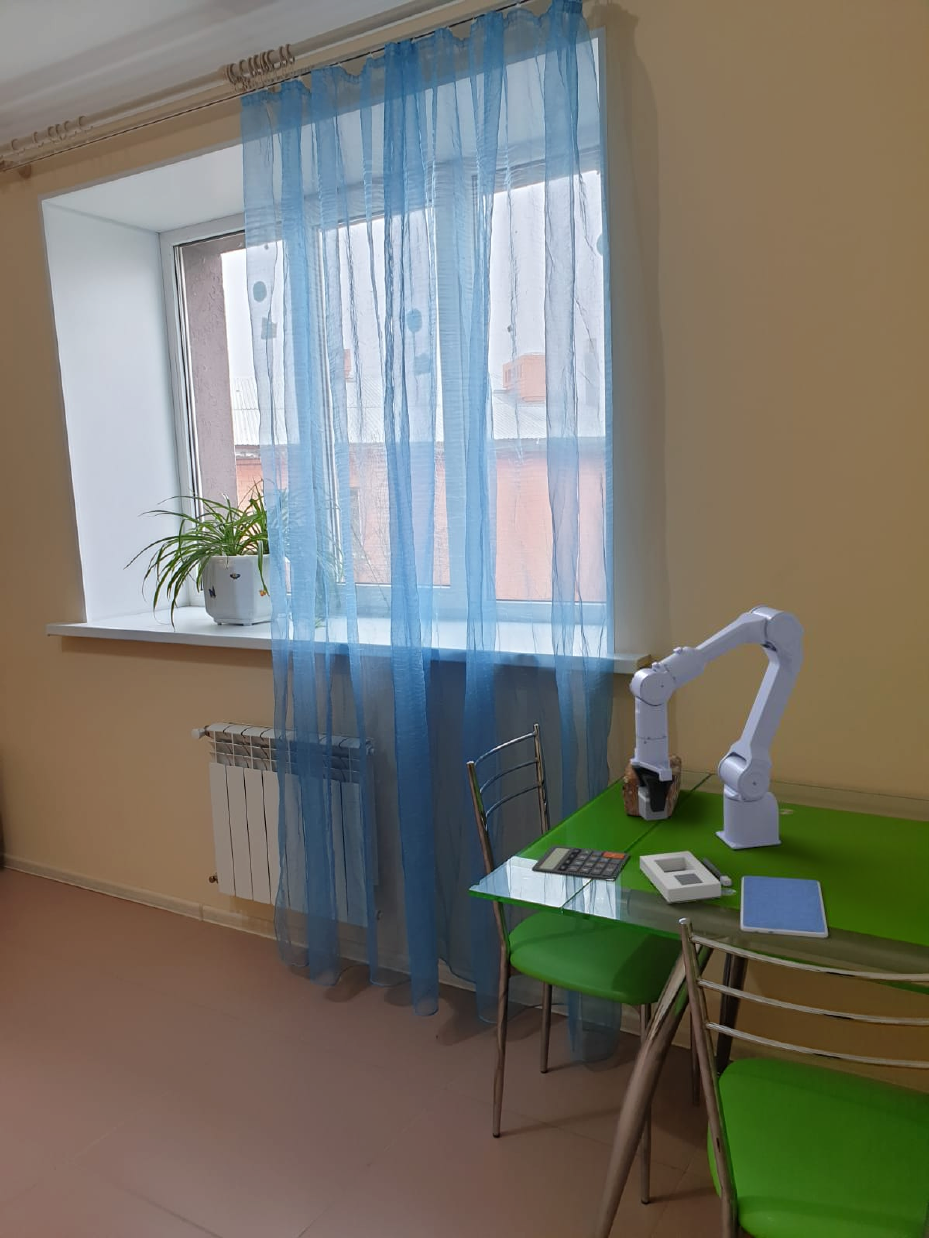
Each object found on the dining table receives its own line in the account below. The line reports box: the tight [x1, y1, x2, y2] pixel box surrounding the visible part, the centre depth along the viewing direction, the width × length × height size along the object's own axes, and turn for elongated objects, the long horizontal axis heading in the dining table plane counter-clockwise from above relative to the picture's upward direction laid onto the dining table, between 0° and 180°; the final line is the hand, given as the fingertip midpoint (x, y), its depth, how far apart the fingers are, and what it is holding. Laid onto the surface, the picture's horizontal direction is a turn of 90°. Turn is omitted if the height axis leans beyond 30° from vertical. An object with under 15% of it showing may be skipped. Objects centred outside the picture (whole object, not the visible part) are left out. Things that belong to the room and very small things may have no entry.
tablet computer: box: [739, 875, 829, 939], centre depth 152 cm, size 19×13×1 cm, turn 163°
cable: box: [702, 857, 732, 887], centre depth 166 cm, size 1×10×1 cm, turn 9°
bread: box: [621, 752, 682, 818], centre depth 202 cm, size 19×11×10 cm, turn 161°
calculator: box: [531, 844, 631, 880], centre depth 173 cm, size 12×1×15 cm
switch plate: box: [639, 850, 722, 903], centre depth 162 cm, size 9×14×3 cm, turn 8°
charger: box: [638, 787, 668, 821], centre depth 176 cm, size 4×4×5 cm
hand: (653, 806), depth 176 cm, fingers closed on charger, 4 cm apart
